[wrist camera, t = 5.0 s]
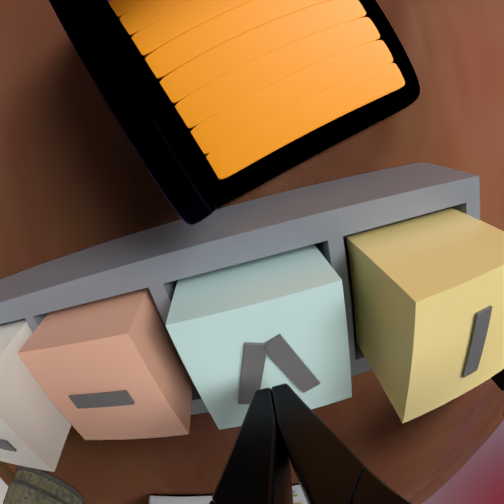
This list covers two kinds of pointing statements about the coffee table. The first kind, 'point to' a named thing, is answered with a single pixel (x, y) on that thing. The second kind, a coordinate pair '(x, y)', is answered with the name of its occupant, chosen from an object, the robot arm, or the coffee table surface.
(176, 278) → the keypad
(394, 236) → the key
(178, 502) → the tea box
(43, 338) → the key with dash symbol
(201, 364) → the key with caret symbol
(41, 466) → the key
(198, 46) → the business card holder
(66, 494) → the green thermos flask
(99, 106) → the coffee table surface
